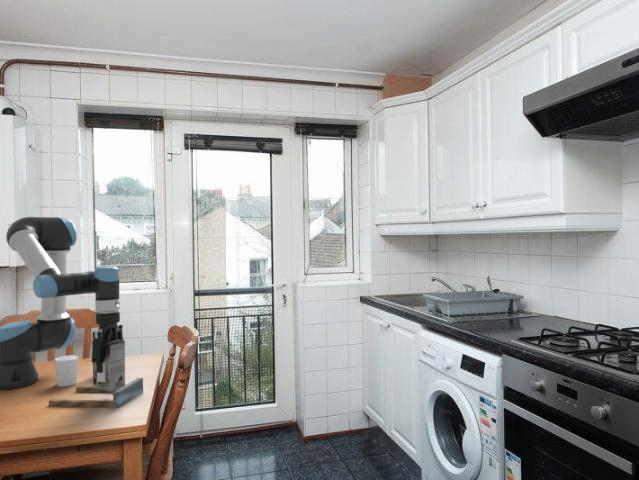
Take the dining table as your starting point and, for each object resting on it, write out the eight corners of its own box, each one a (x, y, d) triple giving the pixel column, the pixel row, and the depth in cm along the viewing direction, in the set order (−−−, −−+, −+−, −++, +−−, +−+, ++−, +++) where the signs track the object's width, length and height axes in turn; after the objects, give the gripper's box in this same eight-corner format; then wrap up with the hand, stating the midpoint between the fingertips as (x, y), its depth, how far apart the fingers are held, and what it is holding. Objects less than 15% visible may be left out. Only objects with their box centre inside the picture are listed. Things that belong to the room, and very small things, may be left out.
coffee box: (92, 388, 152) (91, 341, 152) (108, 382, 158) (107, 337, 158) (109, 391, 148) (108, 343, 148) (126, 385, 153) (125, 339, 153)
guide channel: (48, 405, 147) (48, 390, 147) (79, 390, 162) (78, 376, 162) (119, 407, 144) (118, 392, 144) (143, 391, 159) (142, 377, 159)
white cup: (68, 387, 165) (67, 361, 165) (50, 386, 167) (49, 360, 167) (83, 381, 173) (83, 355, 173) (66, 380, 175) (65, 354, 175)
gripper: (99, 316, 142) (100, 387, 142) (134, 307, 162) (135, 369, 162) (77, 316, 143) (79, 387, 143) (115, 307, 163) (116, 368, 163)
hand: (109, 377), depth 153 cm, fingers closed on coffee box, 8 cm apart
